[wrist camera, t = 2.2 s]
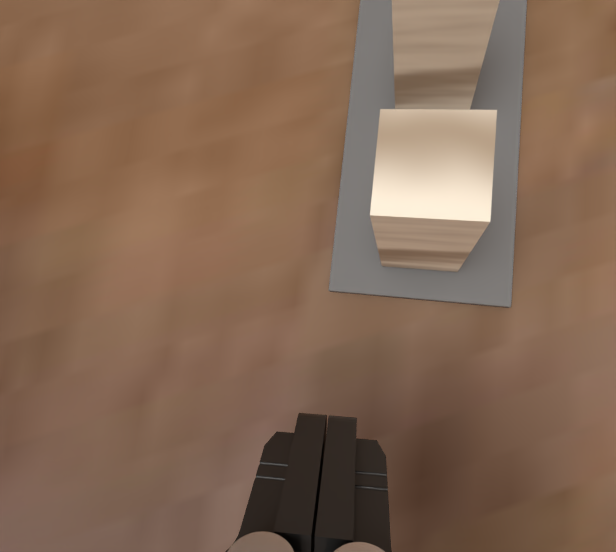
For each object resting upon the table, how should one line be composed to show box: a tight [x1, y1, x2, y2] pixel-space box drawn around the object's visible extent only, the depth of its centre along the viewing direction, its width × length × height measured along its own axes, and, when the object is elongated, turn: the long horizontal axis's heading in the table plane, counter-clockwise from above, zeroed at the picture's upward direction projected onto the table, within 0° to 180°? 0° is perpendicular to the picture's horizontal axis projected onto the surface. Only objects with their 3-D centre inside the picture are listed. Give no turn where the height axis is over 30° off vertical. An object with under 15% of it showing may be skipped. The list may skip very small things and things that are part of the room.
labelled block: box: [392, 0, 500, 110], centre depth 28 cm, size 5×5×12 cm
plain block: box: [370, 109, 497, 272], centre depth 26 cm, size 5×5×12 cm
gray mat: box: [329, 0, 527, 308], centre depth 34 cm, size 31×12×1 cm, turn 173°
